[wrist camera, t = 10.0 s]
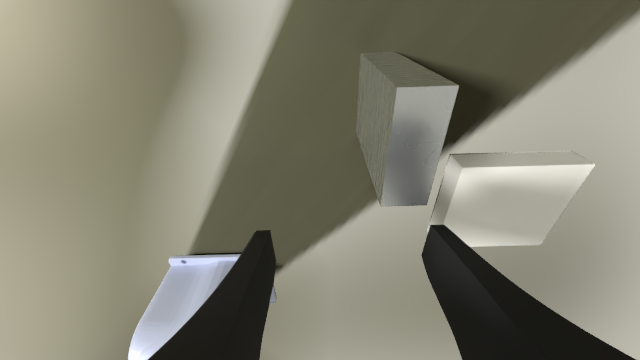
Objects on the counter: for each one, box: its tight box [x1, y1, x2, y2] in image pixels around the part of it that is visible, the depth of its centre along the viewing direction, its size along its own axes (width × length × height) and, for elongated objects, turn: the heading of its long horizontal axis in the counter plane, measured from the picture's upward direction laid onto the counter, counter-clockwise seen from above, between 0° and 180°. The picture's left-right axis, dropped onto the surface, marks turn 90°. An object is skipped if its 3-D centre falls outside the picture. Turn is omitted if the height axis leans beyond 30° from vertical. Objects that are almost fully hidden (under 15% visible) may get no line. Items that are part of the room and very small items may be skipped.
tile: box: [427, 151, 596, 247], centre depth 20 cm, size 2×8×9 cm
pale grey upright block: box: [356, 52, 459, 206], centre depth 13 cm, size 2×5×8 cm, turn 2°
